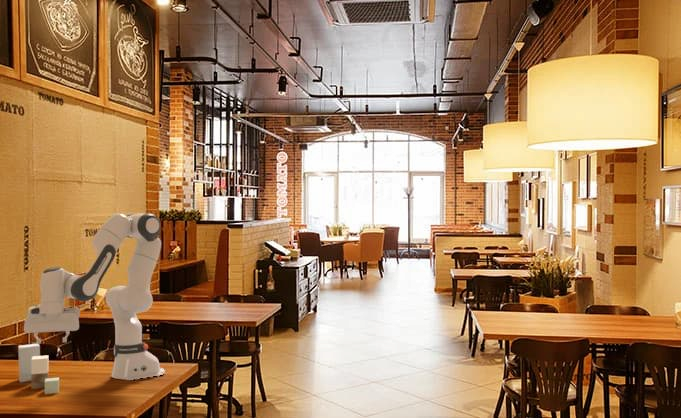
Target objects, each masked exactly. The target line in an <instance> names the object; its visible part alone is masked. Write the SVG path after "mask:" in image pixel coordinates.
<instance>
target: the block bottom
mask: <svg viewBox="0 0 681 418" xmlns="http://www.w3.org/2000/svg"><path fill="white" fill-rule="evenodd" d="M46 378H49V372H48V373H43V374H31V381H30V383H31V385H30V388H31V390H37V389H45V379H46Z"/></svg>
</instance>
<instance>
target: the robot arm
mask: <svg viewBox="0 0 681 418" xmlns="http://www.w3.org/2000/svg"><path fill="white" fill-rule="evenodd" d="M161 226H162V225H161V220H160V218H159V217H158V216H157V215H155V214H152V213H143V212H142V213H141V212H140V213H136V214H127V215H125V214H123V213H114V214H113V215H111V216H110V217H108V219H107V220H105V222H104V223H103V224H102V225H101V227H100V228H99V229H98V231H97V232H96V233H95V235H94V237H93V239H92V241H91V244H92V248H93V250H94V251H95V252H96V258H95V260H94V261H93V263H92V264H91V266H90V267H89V269H88V271H87V272H86V273H85V274H82V275H81V274H75V273H72V272H69V271H67V270H65V269H64V268H63V267H61V266H54V267H50V268H46V269H45V270H43V272H42V274H41V277H40V287H39V288H40V294H41V296H40V301H39V302H40V303H39V304H36V305H33V306H30V307H29V308H28V309H27V315H26V317H25V320H24V323H23V324H24V325H23V332H24V333H25V334H31V333H33V337H34V338H35V340H36V344H39V345H40V344H42V343H41V342H42V338H39V337H38V334H39V333H51V332H54V333H55V332H65V336H63V337H62V343H67V342H68V341H67V340H68V339H67V338H68V336H69V335H70V331H71V332H75V331H78V330H79V329H80V322H79V321H80V320H79V318H80V317H81V310H80V309H79V308H77V307H73V306H72V307H65V299H66V298H70V299H75V300H77V301H81V302H88V301H91V300H93V299H94V298H95V297H96V296H97V293H98V291H99V288H100V285H101V282H102V280H103V278H104V276H105V275H106V273H107V272H108V269H109V268H110V266H111V265H112V263H113V261H114V259H115V257H116V254H117V251H118V250H119V248H120V246H121V245H122V244H123V242H124V241H125V239H126V238H128V239H129V238H130V239H136V246H135V248H134V251H133V252H132V256H131V259H130V260H129V264H128V265H127V267H126V273H127V275H128V282H127V285H116V286H113V287H111V288H109V289H108V290H107V292H106V293H105V303H106V305H107V306H108V307H109V308H110V311H111V314H112V318H113V322H114V328H115V329H114V333H115V334H114V335H115V343H114V346H113V355H114V356H113V357H114V362H113V368H112V372H111V376H110V377H111V378H113V379H117V380H124V381H133V380H134V379H135V380H141V379H140V378H143V379H148V378H147V377H150V378H154V377H153V376H157V377H161V376H160V375H163V374H164V373H166V370H165V369H164V368H163V367H160V362H159V359H158V357H156V356H155V355H153V354H152V353H151V352H150V351H148V348H149V345H148V344H147V343H145V342H143V340H142V339H143V338H142V337H143V335H142V334H143V333H142V332H143V331H142V330H143V325H142V323H141V322H140V320H139V319H138V317H137V314H140V313H146V312H147V311H149V310H150V309H151V308H152V306H153V303H154V299H153V295H152V292H151V281H152V277H153V273H154V270H155V268H156V266H157V263H158V260H159V257H160V252H161V249H162V240H161V239H160V238H159V237H160V234H161ZM164 375H165V374H164ZM164 375H163V376H164Z"/></svg>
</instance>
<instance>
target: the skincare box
mask: <svg viewBox="0 0 681 418" xmlns="http://www.w3.org/2000/svg"><path fill="white" fill-rule="evenodd" d="M17 350H18V377H19V378H18V379H19V383H26V382H31V360H32V357H33V356H41V346H40V344H37V343H31V344H23V345H18V349H17Z"/></svg>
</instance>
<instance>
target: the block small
mask: <svg viewBox="0 0 681 418" xmlns="http://www.w3.org/2000/svg"><path fill="white" fill-rule="evenodd" d="M59 392H60V377H59V376H58V377H48V378H46V379H45V388H44V395H48V394H50V395H51V394H58V393H59Z"/></svg>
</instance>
